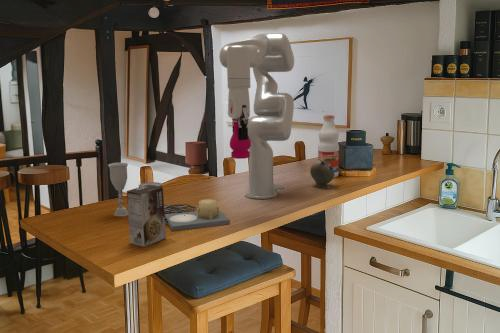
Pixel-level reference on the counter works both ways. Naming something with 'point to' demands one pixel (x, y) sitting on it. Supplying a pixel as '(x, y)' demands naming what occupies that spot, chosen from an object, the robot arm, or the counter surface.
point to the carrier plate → (198, 217)
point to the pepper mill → (239, 143)
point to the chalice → (119, 183)
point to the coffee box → (146, 215)
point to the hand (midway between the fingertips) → (240, 137)
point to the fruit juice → (329, 144)
